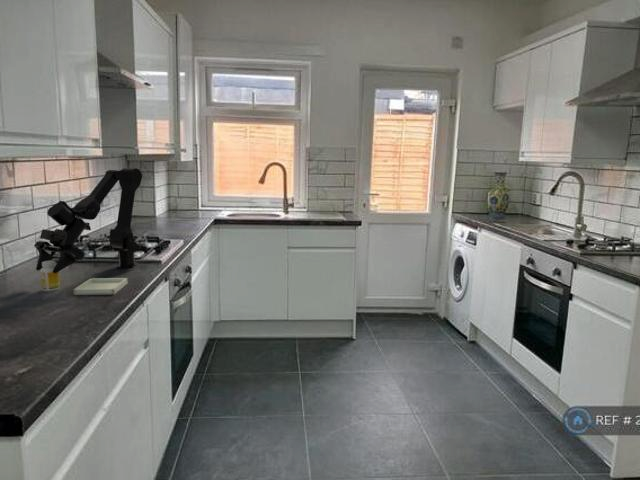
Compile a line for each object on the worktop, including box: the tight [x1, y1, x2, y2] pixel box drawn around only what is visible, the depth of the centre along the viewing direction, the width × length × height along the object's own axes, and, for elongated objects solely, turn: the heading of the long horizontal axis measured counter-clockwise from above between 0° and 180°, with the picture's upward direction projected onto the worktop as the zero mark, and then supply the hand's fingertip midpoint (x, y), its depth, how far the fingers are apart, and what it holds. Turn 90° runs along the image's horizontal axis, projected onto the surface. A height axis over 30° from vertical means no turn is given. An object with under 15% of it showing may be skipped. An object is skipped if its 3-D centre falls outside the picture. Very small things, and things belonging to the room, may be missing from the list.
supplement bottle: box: [39, 259, 61, 292], centre depth 163 cm, size 5×5×10 cm
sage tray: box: [73, 277, 129, 296], centre depth 164 cm, size 13×13×2 cm
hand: (45, 271), depth 161 cm, fingers open, 8 cm apart
